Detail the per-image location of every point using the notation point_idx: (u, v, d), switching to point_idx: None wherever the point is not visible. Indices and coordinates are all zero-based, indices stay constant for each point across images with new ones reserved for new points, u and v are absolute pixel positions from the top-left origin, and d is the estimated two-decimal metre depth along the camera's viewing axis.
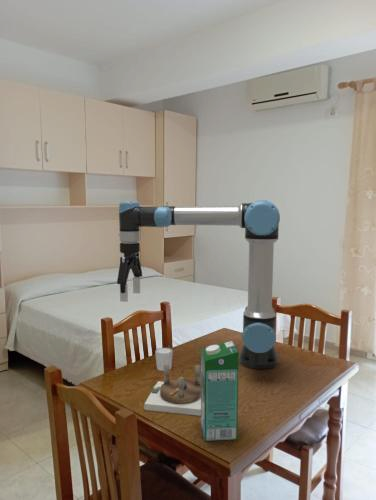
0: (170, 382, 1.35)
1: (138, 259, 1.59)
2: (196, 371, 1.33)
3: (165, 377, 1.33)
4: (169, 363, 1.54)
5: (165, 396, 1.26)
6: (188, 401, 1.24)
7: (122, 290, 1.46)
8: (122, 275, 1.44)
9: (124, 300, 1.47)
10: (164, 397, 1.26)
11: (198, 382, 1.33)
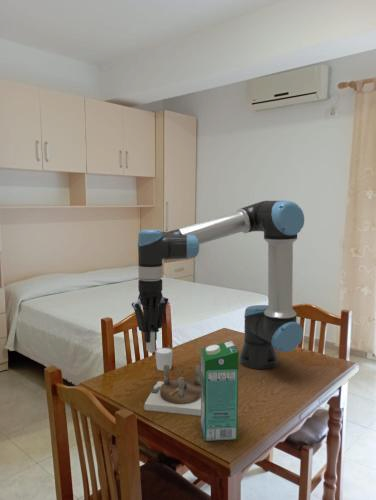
0: (170, 382, 1.35)
1: (163, 305, 1.29)
2: (196, 371, 1.33)
3: (165, 377, 1.33)
4: (169, 363, 1.54)
5: (165, 396, 1.26)
6: (188, 401, 1.24)
7: (145, 339, 1.27)
8: (140, 324, 1.24)
9: (149, 350, 1.28)
10: (164, 397, 1.26)
11: (198, 382, 1.33)
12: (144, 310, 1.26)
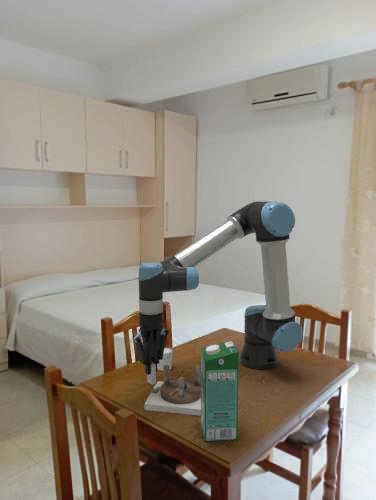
0: (170, 382, 1.35)
1: (164, 337, 1.30)
2: (196, 371, 1.33)
3: (165, 377, 1.33)
4: (169, 363, 1.54)
5: (165, 396, 1.26)
6: (188, 401, 1.24)
7: (146, 371, 1.28)
8: (141, 357, 1.26)
9: (150, 382, 1.29)
10: (164, 397, 1.26)
11: (198, 382, 1.33)
12: (145, 342, 1.27)
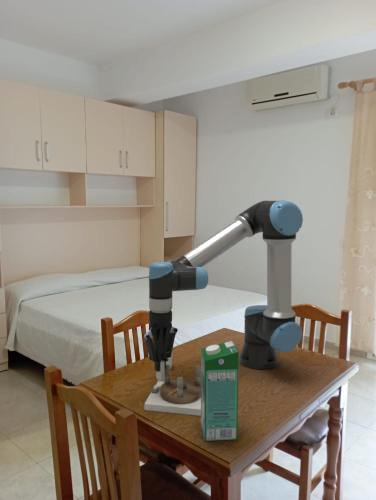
0: (171, 382, 1.35)
1: (173, 335, 1.33)
2: (196, 371, 1.32)
3: (165, 377, 1.33)
4: (169, 363, 1.54)
5: (164, 396, 1.26)
6: (187, 401, 1.24)
7: (156, 368, 1.31)
8: (151, 354, 1.28)
9: (159, 379, 1.32)
10: (163, 397, 1.27)
11: (198, 382, 1.33)
12: (154, 340, 1.30)
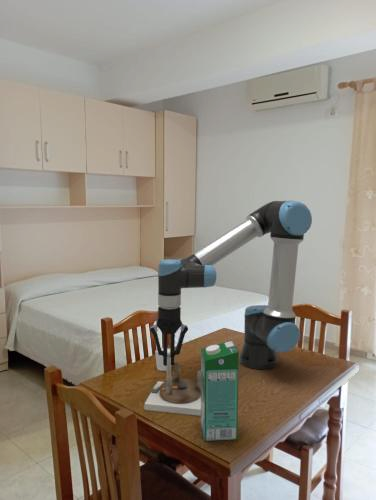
0: (180, 380, 1.36)
1: (182, 333, 1.33)
2: (197, 376, 1.29)
3: (174, 373, 1.36)
4: None
5: None
6: (172, 401, 1.25)
7: (163, 362, 1.35)
8: None
9: None
10: None
11: (198, 388, 1.29)
12: (163, 334, 1.35)
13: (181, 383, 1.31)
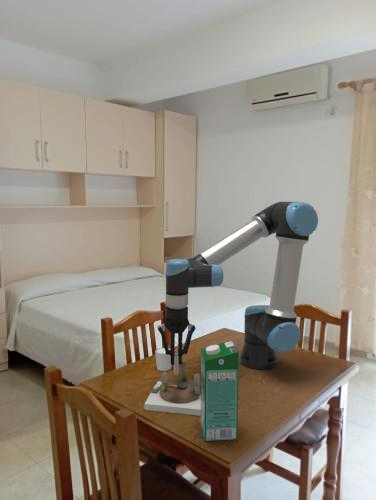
0: (187, 380, 1.36)
1: (189, 333, 1.34)
2: (194, 379, 1.27)
3: None
4: (169, 363, 1.54)
5: None
6: (164, 398, 1.26)
7: None
8: (164, 346, 1.34)
9: (174, 372, 1.36)
10: None
11: (194, 391, 1.27)
12: None
13: (182, 383, 1.31)
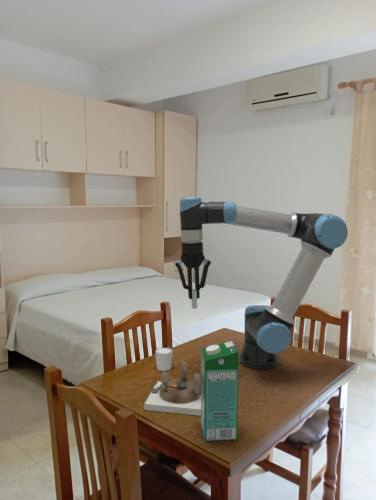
0: (187, 380, 1.36)
1: (205, 267, 1.40)
2: (194, 379, 1.27)
3: None
4: (169, 363, 1.54)
5: None
6: (164, 398, 1.26)
7: (188, 295, 1.42)
8: (181, 281, 1.40)
9: (192, 306, 1.42)
10: None
11: (194, 391, 1.27)
12: (187, 270, 1.41)
13: (182, 383, 1.31)
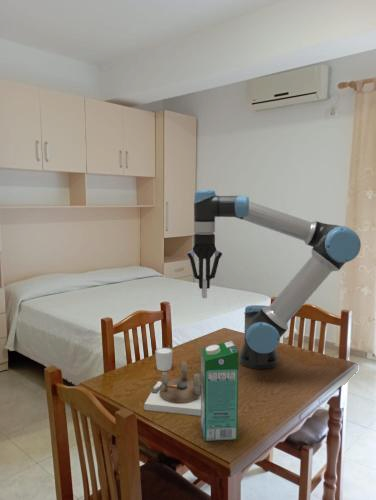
0: (187, 380, 1.36)
1: (216, 258, 1.45)
2: (194, 379, 1.27)
3: None
4: (169, 363, 1.54)
5: None
6: (164, 398, 1.26)
7: (199, 285, 1.47)
8: (193, 271, 1.46)
9: (202, 296, 1.47)
10: None
11: (194, 391, 1.27)
12: (199, 260, 1.46)
13: (182, 383, 1.31)
